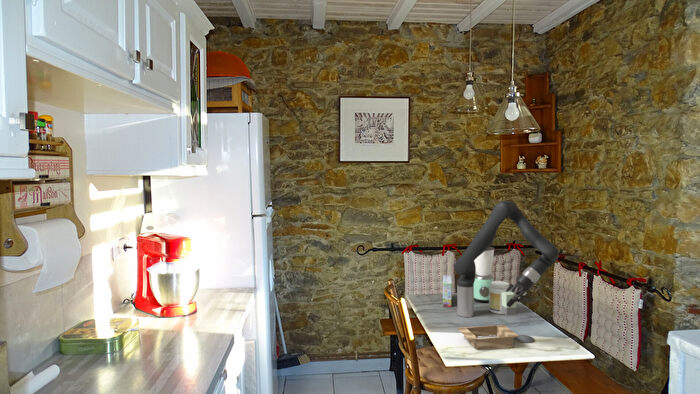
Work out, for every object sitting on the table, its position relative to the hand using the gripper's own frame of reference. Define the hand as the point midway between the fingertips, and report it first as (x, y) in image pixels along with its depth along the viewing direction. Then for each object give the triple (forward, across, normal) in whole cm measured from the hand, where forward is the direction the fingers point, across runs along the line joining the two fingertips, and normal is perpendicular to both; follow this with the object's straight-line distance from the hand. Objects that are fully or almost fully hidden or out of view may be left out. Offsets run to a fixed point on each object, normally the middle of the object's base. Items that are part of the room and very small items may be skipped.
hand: (505, 304), depth 212 cm
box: (+2, 0, +5) cm, 5 cm away
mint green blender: (+1, -66, +25) cm, 70 cm away
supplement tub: (+1, -43, +25) cm, 49 cm away
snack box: (+18, -65, +8) cm, 68 cm away
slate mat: (+6, 0, +20) cm, 21 cm away
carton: (+19, 0, +6) cm, 21 cm away
